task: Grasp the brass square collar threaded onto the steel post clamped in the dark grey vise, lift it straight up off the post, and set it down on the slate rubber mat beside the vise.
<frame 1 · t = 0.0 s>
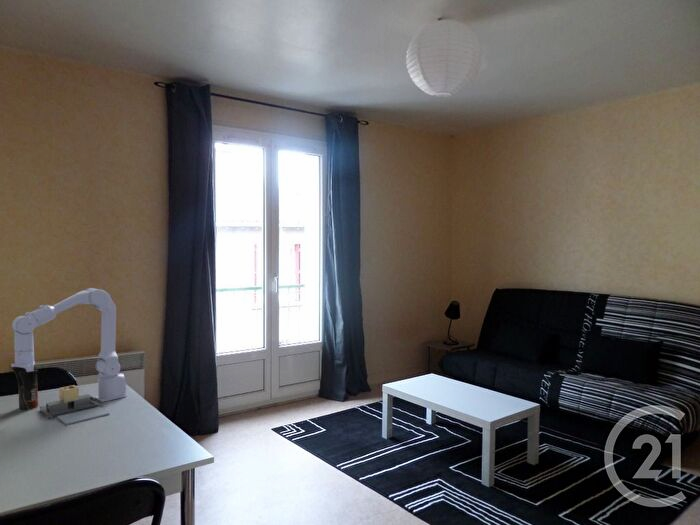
hand: (25, 388, 174), 10 cm above the table, tool pointing down, fingers open, 7 cm apart
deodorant: (28, 408, 183), on the table
vise: (69, 409, 182), on the table
collar: (69, 399, 181), point 3 cm above the table, touching vise
mat: (83, 416, 174), on the table
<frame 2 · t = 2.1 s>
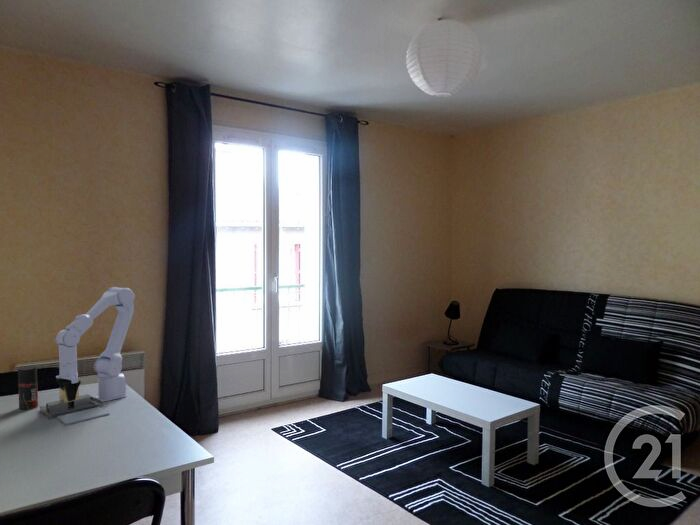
hand: (69, 398, 181), 4 cm above the table, tool pointing down, fingers closed on collar, 5 cm apart
collar: (69, 399, 181), point 3 cm above the table, touching gripper, vise
everything else where it was.
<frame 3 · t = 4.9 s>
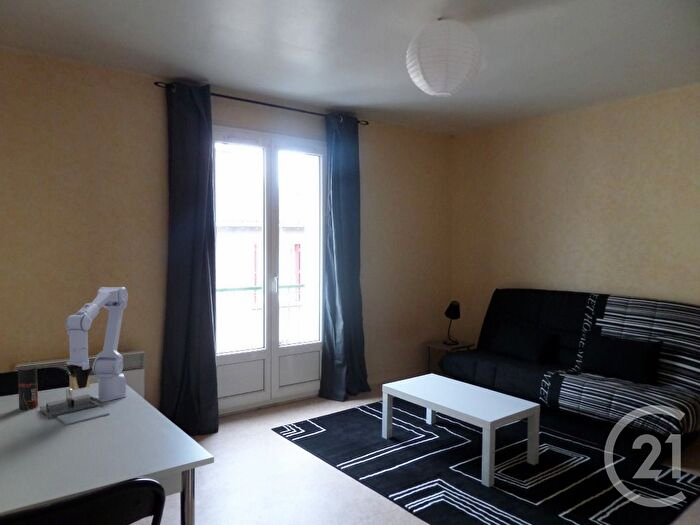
hand: (79, 386, 175), 10 cm above the table, tool pointing down, fingers closed on collar, 5 cm apart
collar: (79, 387, 175), point 10 cm above the table, touching gripper
everything else where it was.
when the fingers open (3 cm above the table, at t = 7.5 s): collar drops 2 cm, resting on mat.
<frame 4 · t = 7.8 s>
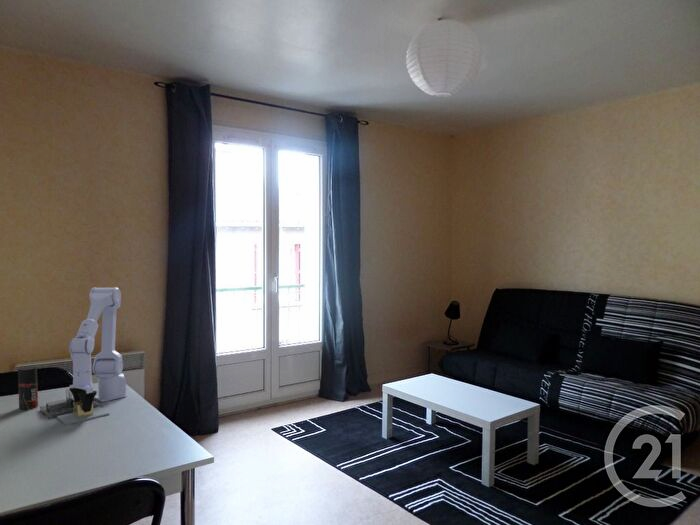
hand: (83, 409, 174), 3 cm above the table, tool pointing down, fingers open, 7 cm apart
collar: (83, 414, 174), point 1 cm above the table, touching mat
everything else where it was.
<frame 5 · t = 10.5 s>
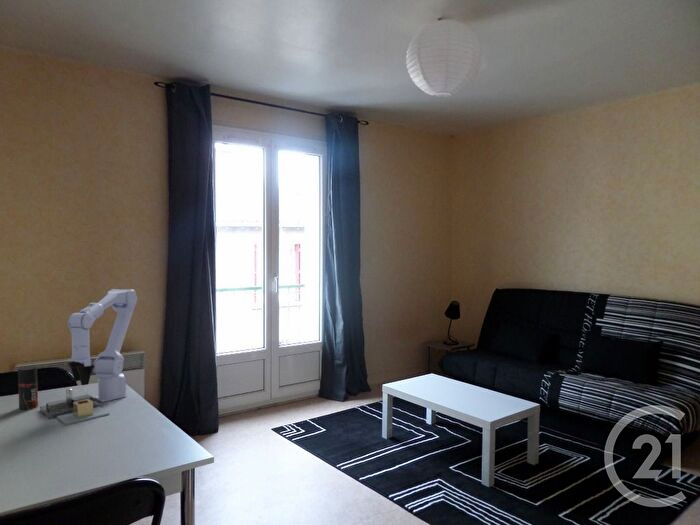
hand: (81, 382, 179), 10 cm above the table, tool pointing down, fingers open, 7 cm apart
nothing on the table moved.
at the end: collar inside the target area on the mat (0.1 cm from its centre), point 0.6 cm above the mat's base; collar tilted 0°; collar touching mat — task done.
